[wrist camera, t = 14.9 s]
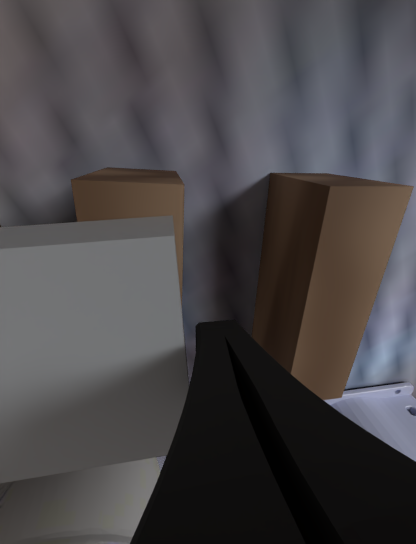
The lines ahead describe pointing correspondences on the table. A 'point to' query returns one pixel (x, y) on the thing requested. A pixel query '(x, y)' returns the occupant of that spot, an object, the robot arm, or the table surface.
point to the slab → (89, 345)
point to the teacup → (78, 505)
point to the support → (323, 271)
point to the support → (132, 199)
